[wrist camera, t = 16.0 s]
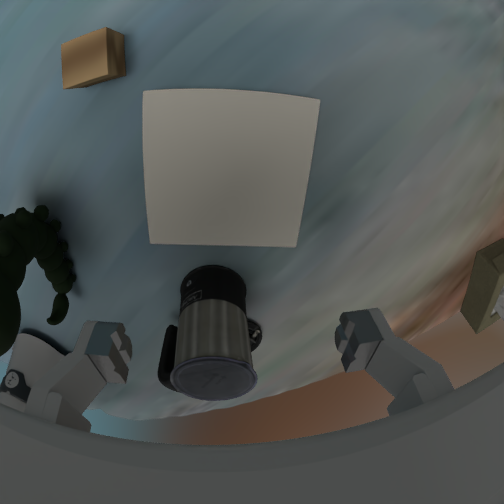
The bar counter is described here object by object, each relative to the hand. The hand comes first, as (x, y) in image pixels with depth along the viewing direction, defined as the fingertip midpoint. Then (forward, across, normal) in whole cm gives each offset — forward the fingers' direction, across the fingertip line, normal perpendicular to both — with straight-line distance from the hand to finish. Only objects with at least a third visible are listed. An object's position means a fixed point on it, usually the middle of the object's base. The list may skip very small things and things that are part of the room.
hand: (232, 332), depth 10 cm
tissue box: (+23, -55, +21) cm, 63 cm away
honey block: (+23, +13, -13) cm, 29 cm away
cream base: (+23, 0, 0) cm, 23 cm away
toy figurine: (+23, +25, +9) cm, 35 cm away
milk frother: (+23, +1, +22) cm, 32 cm away
